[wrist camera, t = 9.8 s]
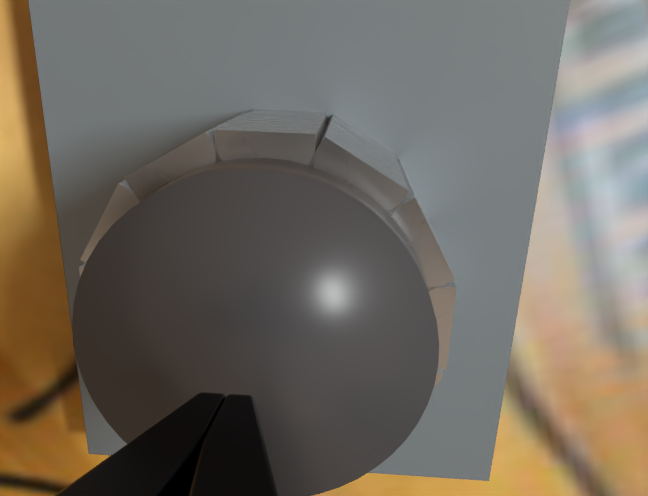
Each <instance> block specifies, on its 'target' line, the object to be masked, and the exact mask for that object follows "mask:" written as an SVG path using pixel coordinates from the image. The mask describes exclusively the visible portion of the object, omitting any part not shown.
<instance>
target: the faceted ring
mask: <svg viewBox="0 0 648 496" xmlns="http://www.w3.org/2000/svg"><path fill="white" fill-rule="evenodd" d="M240 158H272V159H281V160H289V161H293V162H297V163H301V164H306V165H310V166H313V167H315V168H318V169H321V170H323V171H326V172H328V173H331V174H333V175H335V176H337V177H339V178H341V179H343V180H345V181H346V182H348V183H350V184H352V185H354V186H355V187H356V188H358V189H359V190H361V191H362V192H363V193H365V194H366V195H368V196H369V197H370V198H372V199H373V200H374V201H375V202H376V203H377V204H378V205H379V206H380V207H381V208H382V209H383V210H385V211H386V212H387V213H388V214H389V216H390V217H391V218H392V219H393V220H394V222H395V223H396V224H397V225H398V227H399V228H400V229H401V230H402V232H403V233H404V235H405V237H406V238H407V240H408V242H409V243H410V245H411V247H412V248H413V250H414V252H415V255H416V257H417V259H418V262H419V264H420V266H421V269H422V272H423V275H424V278H425V281H426V285H427V288H428V291H429V294H430V298H431V301H432V305H433V309H434V313H435V316H436V320H437V328H438V337H439V362H438V369H437V375H436V380H435V385H434V387H435V386H436V385H437V383H438V382H439V381H440V380H441V379H442V377H443V373H442V370H441V369H447V361H448V353H449V345H450V337H451V329H452V322H453V314H454V306H455V298H456V290H457V287H456V285H455V283H454V280H455V278H454V275H453V273H452V271H451V269H450V266H449V264H448V262H447V260H446V257H445V255H444V253H443V251H442V248H441V246H440V244H439V242H438V239H437V237H436V235H435V233H434V230H433V228H432V226H431V224H430V221H429V219H428V217H427V215H426V213H425V211H424V209H423V207H422V205H421V203H420V201H419V199H418V197H417V195H416V193H415V191H414V188H413V186H412V184H411V182H410V180H409V178H408V176H407V174H406V172H405V170H404V168H403V166H402V164H401V162H400V160H399V159H396V156H395V154H394V153H393V152H391V151H390V150H388V149H387V148H385V147H384V146H382V145H381V144H379V143H378V142H376V141H374V140H373V139H371V138H370V137H368V136H367V135H365V134H364V133H362V132H361V131H359V130H358V129H356V128H354V127H353V126H351V125H350V124H348V123H347V122H345V121H344V120H342V119H341V118H339V117H337V116H336V115H333V116H332V118H331V119H330V121H329V123H328V124H327V112H316V111H291V110H267V109H254V110H252V111H250V112H248V111H246V112H244V113H242V114H240V115H238V116H236V117H234V118H232V119H230V120H228V121H226V122H224V123H222V124H220V125H218V126H216V127H214V128H212V129H210V130H208V131H206V132H204V133H202V134H201V135H199V136H197V137H195V138H193V139H192V140H190V141H188V142H186V143H185V144H183V145H181V146H179V147H177V148H176V149H174V150H172V151H170V152H169V153H167V154H165V155H163V156H161V157H160V158H158V159H156V160H154V161H152V162H151V163H149V164H147V165H145V166H144V167H142V168H140V169H138V170H136V171H135V172H133V173H131V174H129V175H128V176H126V177H124V179H125V180H124V181H122V182H120V183H118V185H117V187H116V189H115V191H114V193H113V195H112V197H111V199H110V201H109V203H108V205H107V207H106V209H105V211H104V213H103V215H102V217H101V219H100V221H99V223H98V225H97V227H96V229H95V231H94V233H93V235H92V237H91V239H90V241H89V243H88V245H87V247H86V249H85V251H84V253H83V255H82V257H81V259H80V260H81V261H83V262H85V263H84V264H83V265H81V266H80V267H79V273H80V277H81V274H82V272H83V269H84V267H85V264H86V262H87V260H88V258H89V257H90V255H91V253H92V252H93V250H94V248H95V247H96V245H97V243H98V242H99V240H100V239H101V238H102V237H103V236H104V234H105V233H106V232H107V231H108V230H109V228H110V227H111V226H112V225H113V224H114V223H115V222H116V221H117V220H118V219H119V218H121V217H122V216H123V215H124V214H125V213H126V212H127V211H128V210H130V209H131V208H132V207H134V206H135V205H137V204H138V203H140V202H141V201H143V200H144V199H146V198H147V197H149V196H150V195H152V194H153V193H154V192H156V191H157V190H159V189H160V188H162V187H164V186H165V185H167V184H168V183H170V182H171V181H173V180H174V179H176V178H178V177H180V176H182V175H184V174H186V173H188V172H190V171H193V170H195V169H197V168H200V167H203V166H207V165H210V164H213V163H217V162H221V161H228V160H234V159H240Z"/></svg>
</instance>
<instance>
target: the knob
mask: <svg viewBox="0 0 648 496" xmlns="http://www.w3.org/2000/svg"><path fill="white" fill-rule="evenodd" d="M72 330H73V345H74V349H75V354H76V359H77V364H78V367H79V370H80V373H81V375H82V378H83V381H84V384H85V386H86V388H87V390H88V392H89V394H90V396H91V398H92V400H93V402H94V404H95V405H96V407H97V408H98V410H99V411H100V413H101V414H102V416H103V417H104V419H105V420H106V422H107V423H108V424H109V425H110V426H111V427H112V429H113V430H114V431H115V432H116V433H117V434H118V436H119V437H120V438H121V439H122V440H123V441H124V442H126V443H127V444H128V443H129V442H131V441H132V440H134V439H135V438H136V437H138V436H139V435H141V434H142V433H143V432H145V431H146V430H148V429H149V428H151V427H152V426H153V425H155V424H156V423H158V422H159V421H160V420H162V419H163V418H165V417H166V416H167V415H169V414H170V413H172V412H173V411H174V410H176V409H177V408H179V407H180V406H181V405H183V404H184V403H186V402H187V401H188V400H190V399H191V398H193V397H194V396H195V395H197V394H199V393H201V392H207V393H222V394H224V395H225V396H227V395H229V394H239V395H251V396H252V397H253V398H254V401H255V405H256V409H257V413H258V417H259V421H260V425H261V429H262V433H263V437H264V440H265V444H266V448H267V452H268V456H269V460H270V464H271V468H272V472H273V476H274V480H275V484H276V488H277V492H278V496H310V495H315V494H320V493H323V492H326V491H329V490H332V489H335V488H338V487H341V486H343V485H345V484H347V483H349V482H352V481H354V480H356V479H358V478H360V477H361V476H363V475H365V474H366V473H368V472H370V471H371V470H373V469H374V468H376V467H377V466H379V465H380V464H381V463H382V462H383V461H385V460H386V459H387V458H388V457H390V456H391V455H392V454H393V453H394V452H395V451H396V450H397V449H398V448H399V447H400V446H401V445H402V444H403V443H404V442H405V441H406V439H407V438H408V436H409V435H410V434H411V432H412V431H413V430H414V428H415V427H416V425H417V424H418V422H419V420H420V419H421V417H422V415H423V413H424V411H425V409H426V407H427V405H428V402H429V400H430V397H431V394H432V391H433V388H434V385H435V380H436V375H437V369H438V362H439V337H438V328H437V320H436V316H435V313H434V309H433V305H432V301H431V298H430V294H429V291H428V288H427V285H426V281H425V278H424V275H423V272H422V269H421V266H420V264H419V262H418V259H417V257H416V255H415V252H414V250H413V248H412V247H411V245H410V243H409V242H408V240H407V238H406V237H405V235H404V233H403V232H402V230H401V229H400V228H399V227H398V225H397V224H396V223H395V222H394V220H393V219H392V218H391V217H390V216H389V214H388V213H387V212H386V211H385V210H383V209H382V208H381V207H380V206H379V205H378V204H377V203H376V202H375V201H374V200H373V199H372V198H370V197H369V196H368V195H366V194H365V193H363V192H362V191H361V190H359V189H358V188H356V187H355V186H354V185H352V184H350V183H348V182H346V181H345V180H343V179H341V178H339V177H337V176H335V175H333V174H331V173H328V172H326V171H323V170H321V169H318V168H315V167H313V166H310V165H306V164H301V163H297V162H293V161H289V160H281V159H272V158H240V159H234V160H228V161H221V162H217V163H213V164H210V165H207V166H203V167H200V168H197V169H195V170H193V171H190V172H188V173H186V174H184V175H182V176H180V177H178V178H176V179H174V180H173V181H171V182H170V183H168V184H167V185H165V186H164V187H162V188H160V189H159V190H157V191H156V192H154V193H153V194H152V195H150V196H149V197H147V198H146V199H144V200H143V201H141V202H140V203H138V204H137V205H135V206H134V207H132V208H131V209H130V210H128V211H127V212H126V213H125V214H124V215H123V216H122V217H121V218H119V219H118V220H117V221H116V222H115V223H114V224H113V225H112V226H111V227H110V228H109V230H108V231H107V232H106V233H105V234H104V236H103V237H102V238H101V239H100V240H99V242H98V243H97V245H96V247H95V248H94V250H93V252H92V253H91V255H90V257H89V258H88V260H87V262H86V264H85V267H84V269H83V272H82V274H81V277H80V279H79V282H78V286H77V291H76V295H75V299H74V306H73V318H72Z"/></svg>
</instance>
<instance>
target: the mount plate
mask: <svg viewBox="0 0 648 496" xmlns="http://www.w3.org/2000/svg"><path fill="white" fill-rule="evenodd" d="M28 2H29V9H30V17H31V24H32V32H33V39H34V47H35V54H36V62H37V69H38V77H39V84H40V92H41V99H42V107H43V114H44V122H45V129H46V137H47V144H48V152H49V159H50V167H51V174H52V182H53V189H54V197H55V204H56V212H57V219H58V227H59V234H60V242H61V249H62V257H63V264H64V272H65V279H66V287H67V294H68V302H69V309H70V317H71V324H72V318H73V306H74V299H75V295H76V291H77V286H78V282H79V279H80V273H79V267H80V266H81V265H83V264H84V263H85V262H83V261H81V260H80V259H81V257H82V255H83V253H84V251H85V249H86V247H87V245H88V243H89V241H90V239H91V237H92V235H93V233H94V231H95V229H96V227H97V225H98V223H99V221H100V219H101V217H102V215H103V213H104V211H105V209H106V207H107V205H108V203H109V201H110V199H111V197H112V195H113V193H114V191H115V189H116V187H117V185H118V183H120V182H122V181H124V180H125V179H124V177H126V176H128V175H129V174H131V173H133V172H135V171H136V170H138V169H140V168H142V167H144V166H145V165H147V164H149V163H151V162H152V161H154V160H156V159H158V158H160V157H161V156H163V155H165V154H167V153H169V152H170V151H172V150H174V149H176V148H177V147H179V146H181V145H183V144H185V143H186V142H188V141H190V140H192V139H193V138H195V137H197V136H199V135H201V134H202V133H204V132H206V131H208V130H210V129H212V128H214V127H216V126H218V125H220V124H222V123H224V122H226V121H228V120H230V119H232V118H234V117H236V116H238V115H240V114H242V113H244V112H246V111H248V112H250V111H252V110H254V109H267V110H291V111H316V112H327V124H328V123H329V121H330V119H331V118H332V116H333V115H336V116H337V117H339V118H341V119H342V120H344V121H345V122H347V123H348V124H350V125H351V126H353V127H354V128H356V129H358V130H359V131H361V132H362V133H364V134H365V135H367V136H368V137H370V138H371V139H373V140H374V141H376V142H378V143H379V144H381V145H382V146H384V147H385V148H387V149H388V150H390V151H391V152H393V153H394V154H395V156H396V159H399V160H400V162H401V164H402V166H403V168H404V170H405V172H406V174H407V176H408V178H409V180H410V182H411V184H412V186H413V188H414V191H415V193H416V195H417V197H418V199H419V201H420V203H421V205H422V207H423V209H424V211H425V213H426V215H427V217H428V219H429V221H430V224H431V226H432V228H433V230H434V233H435V235H436V237H437V239H438V242H439V244H440V246H441V248H442V251H443V253H444V255H445V257H446V260H447V262H448V264H449V266H450V269H451V271H452V273H453V275H454V278H455V280H454V283H455V285H456V287H457V290H456V298H455V306H454V314H453V322H452V329H451V337H450V345H449V353H448V361H447V369H441V370H442V373H443V377H442V379H441V380H440V381H439V382H438V383H437V385H436V386H435V387H434V388H433V391H432V394H431V397H430V400H429V402H428V405H427V407H426V409H425V411H424V413H423V415H422V417H421V419H420V420H419V422H418V424H417V425H416V427H415V428H414V430H413V431H412V432H411V434H410V435H409V436H408V438H407V439H406V441H405V442H404V443H403V444H402V445H401V446H400V447H399V448H398V449H397V450H396V451H395V452H394V453H393V454H392V455H391V456H390V457H388V458H387V459H386V460H385V461H383V462H382V463H381V464H380V465H379V466H377V467H376V468H374V469H373V470H371V471H370V472H368V473H381V474H395V475H410V476H425V477H439V478H454V479H469V480H484V481H489V477H490V471H491V465H492V459H493V453H494V447H495V441H496V435H497V430H498V424H499V418H500V412H501V406H502V400H503V394H504V388H505V382H506V376H507V370H508V364H509V358H510V353H511V347H512V341H513V335H514V329H515V323H516V317H517V311H518V305H519V299H520V293H521V287H522V282H523V276H524V270H525V264H526V258H527V252H528V246H529V240H530V234H531V228H532V222H533V216H534V211H535V205H536V199H537V193H538V187H539V181H540V175H541V169H542V163H543V157H544V151H545V145H546V140H547V134H548V128H549V122H550V116H551V110H552V104H553V98H554V92H555V86H556V80H557V74H558V69H559V63H560V57H561V51H562V45H563V39H564V33H565V27H566V21H567V15H568V9H569V3H570V0H28ZM72 332H73V330H72ZM76 362H77V359H76ZM77 369H78V377H79V384H80V392H81V399H82V407H83V414H84V422H85V429H86V437H87V444H88V452H89V454H101V455H113V454H114V453H115V452H117V451H118V450H120V449H121V448H122V447H124V446H125V445H127V443H126V442H124V441H123V440H122V439H121V438H120V437H119V436H118V434H117V433H116V432H115V431H114V430H113V429H112V427H111V426H110V425H109V424H108V423H107V422H106V420H105V419H104V417H103V416H102V414H101V413H100V411H99V410H98V408H97V407H96V405H95V404H94V402H93V400H92V398H91V396H90V394H89V392H88V390H87V388H86V386H85V384H84V381H83V378H82V375H81V373H80V370H79V367H78V364H77Z"/></svg>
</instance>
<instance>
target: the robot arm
mask: <svg viewBox="0 0 648 496" xmlns="http://www.w3.org/2000/svg"><path fill="white" fill-rule="evenodd" d="M55 496H278V492H277V488H276V484H275V480H274V476H273V472H272V468H271V464H270V460H269V456H268V452H267V448H266V444H265V440H264V437H263V433H262V429H261V425H260V421H259V417H258V413H257V409H256V405H255V401H254V398H253V397H252V396H251V395H239V394H229V395H227V396H225V395H224V394H222V393H207V392H201V393H199V394H197V395H195V396H194V397H193V398H191V399H190V400H188V401H187V402H186V403H184V404H183V405H181V406H180V407H179V408H177V409H176V410H174V411H173V412H172V413H170V414H169V415H167V416H166V417H165V418H163V419H162V420H160V421H159V422H158V423H156V424H155V425H153V426H152V427H151V428H149V429H148V430H146V431H145V432H143V433H142V434H141V435H139V436H138V437H136V438H135V439H134V440H132V441H131V442H129V443H128V444H127V445H125V446H124V447H122V448H121V449H120V450H118V451H117V452H115V453H114V454H113V455H111V456H110V457H108V458H107V459H106V460H104V461H103V462H101V463H100V464H99V465H97V466H96V467H94V468H93V469H92V470H90V471H89V472H87V473H86V474H85V475H83V476H82V477H80V478H79V479H77V480H76V481H75V482H73V483H72V484H70V485H69V486H68V487H66V488H65V489H63V490H62V491H61V492H59V493H58V494H56V495H55Z"/></svg>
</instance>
